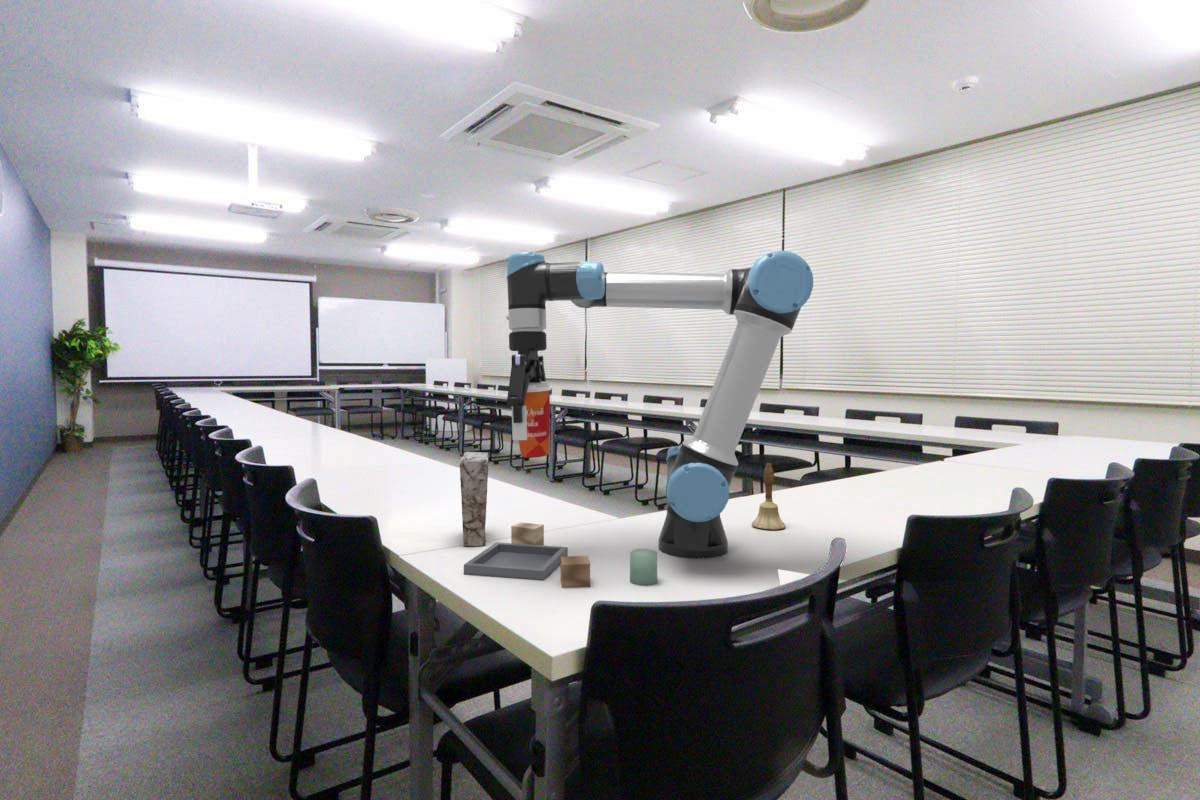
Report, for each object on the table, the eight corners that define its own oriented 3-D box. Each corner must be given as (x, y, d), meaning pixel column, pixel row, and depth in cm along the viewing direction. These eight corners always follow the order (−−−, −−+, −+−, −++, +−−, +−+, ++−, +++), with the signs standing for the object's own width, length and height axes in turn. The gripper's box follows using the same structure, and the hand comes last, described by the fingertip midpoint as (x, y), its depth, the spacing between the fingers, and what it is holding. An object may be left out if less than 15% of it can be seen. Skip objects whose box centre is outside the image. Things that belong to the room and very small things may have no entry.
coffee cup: (508, 458, 129) (503, 385, 127) (526, 449, 137) (522, 381, 135) (544, 459, 126) (540, 385, 124) (561, 451, 134) (558, 380, 132)
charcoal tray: (567, 558, 132) (567, 547, 132) (543, 583, 116) (543, 571, 116) (496, 553, 135) (496, 542, 135) (463, 577, 120) (463, 564, 120)
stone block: (492, 546, 141) (492, 457, 140) (460, 548, 139) (460, 458, 138) (487, 531, 154) (487, 450, 153) (458, 533, 152) (457, 451, 151)
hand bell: (779, 531, 155) (780, 466, 154) (747, 526, 159) (747, 464, 158) (789, 524, 161) (790, 462, 161) (758, 520, 166) (759, 460, 165)
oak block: (543, 546, 141) (543, 524, 141) (535, 551, 137) (535, 529, 137) (520, 543, 143) (520, 522, 143) (511, 548, 140) (511, 526, 139)
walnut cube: (587, 582, 118) (587, 555, 117) (590, 591, 113) (590, 563, 112) (560, 583, 117) (560, 556, 117) (562, 592, 112) (562, 564, 112)
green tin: (658, 581, 118) (659, 549, 118) (655, 590, 113) (655, 557, 113) (632, 579, 119) (632, 547, 119) (627, 588, 114) (627, 555, 114)
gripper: (528, 335, 140) (530, 430, 141) (487, 328, 115) (490, 443, 116) (561, 333, 138) (563, 430, 139) (526, 326, 114) (529, 443, 115)
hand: (530, 436), depth 128 cm, fingers open, 13 cm apart
